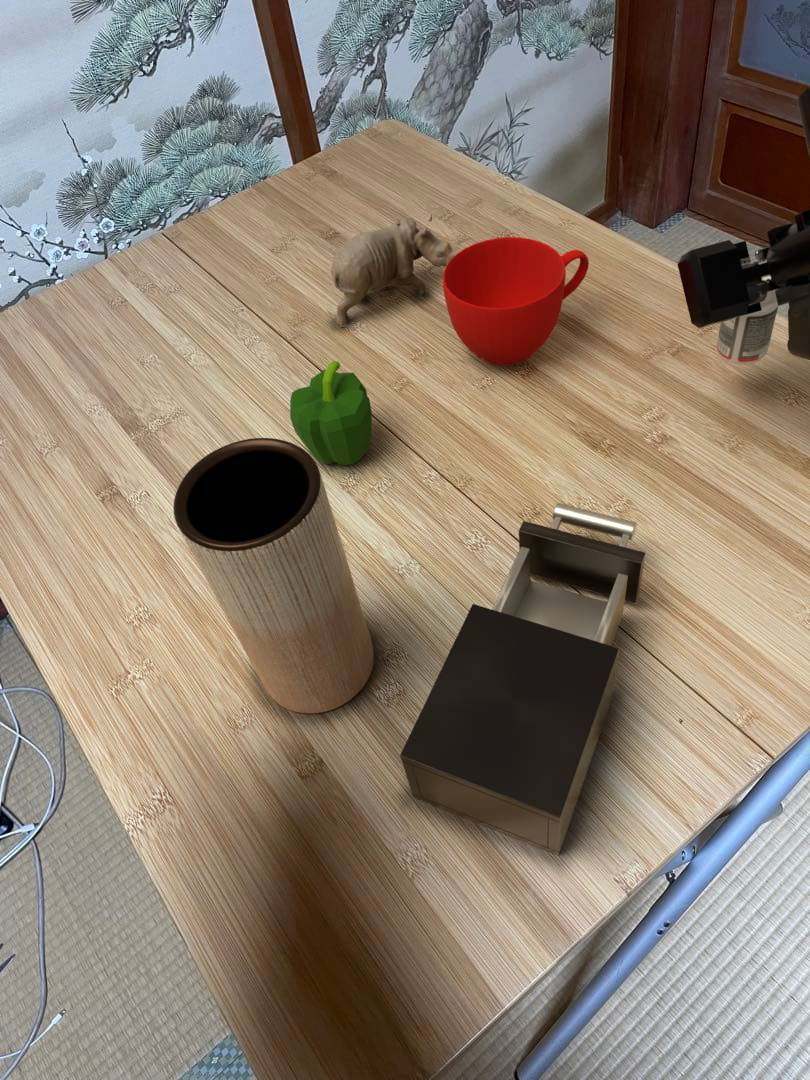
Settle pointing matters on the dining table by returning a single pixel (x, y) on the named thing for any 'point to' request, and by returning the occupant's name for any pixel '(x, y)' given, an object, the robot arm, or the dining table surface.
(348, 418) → the bell pepper
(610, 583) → the drawer
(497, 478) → the dining table surface
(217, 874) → the dining table surface
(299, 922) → the dining table surface
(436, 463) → the dining table surface
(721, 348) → the pill bottle
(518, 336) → the ceramic cup
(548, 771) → the drawer cabinet
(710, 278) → the robot arm
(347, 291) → the rhinoceros figurine
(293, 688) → the planter
